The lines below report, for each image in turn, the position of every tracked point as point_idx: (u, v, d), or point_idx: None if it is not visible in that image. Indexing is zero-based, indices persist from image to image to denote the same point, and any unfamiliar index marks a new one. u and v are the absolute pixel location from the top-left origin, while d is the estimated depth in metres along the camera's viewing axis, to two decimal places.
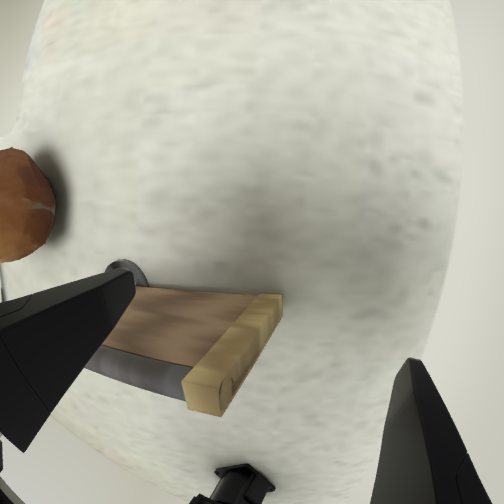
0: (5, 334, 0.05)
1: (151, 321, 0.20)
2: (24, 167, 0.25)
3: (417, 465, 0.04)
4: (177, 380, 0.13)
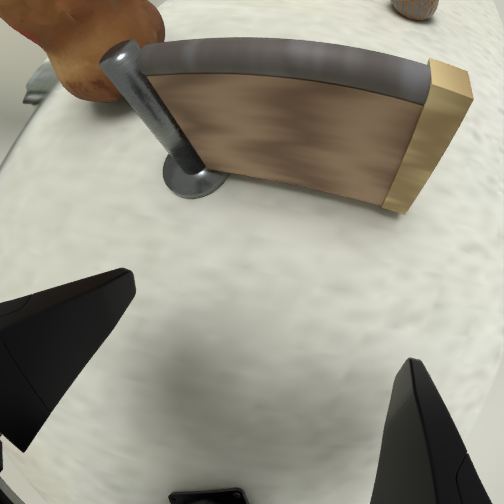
0: (5, 334, 0.05)
1: None
2: (163, 23, 0.24)
3: (417, 465, 0.04)
4: (418, 62, 0.09)
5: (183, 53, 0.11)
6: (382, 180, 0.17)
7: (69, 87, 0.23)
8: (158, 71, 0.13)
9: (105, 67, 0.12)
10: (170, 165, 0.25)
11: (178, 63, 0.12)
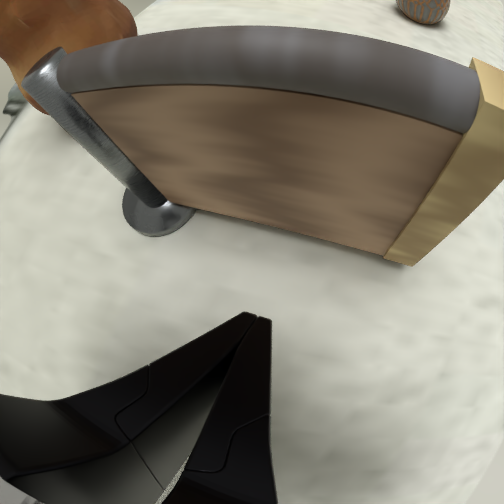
0: (134, 435, 0.04)
1: None
2: (135, 26, 0.21)
3: None
4: None
5: (101, 61, 0.07)
6: (387, 229, 0.12)
7: (30, 101, 0.19)
8: (80, 87, 0.09)
9: (24, 86, 0.08)
10: (131, 195, 0.21)
11: (97, 75, 0.08)
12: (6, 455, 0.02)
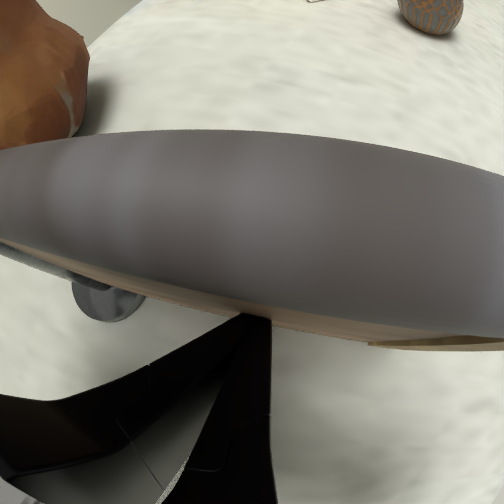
0: (134, 435, 0.04)
1: None
2: (84, 54, 0.18)
3: None
4: None
5: None
6: (370, 339, 0.10)
7: None
8: None
9: None
10: None
11: None
12: (6, 455, 0.02)
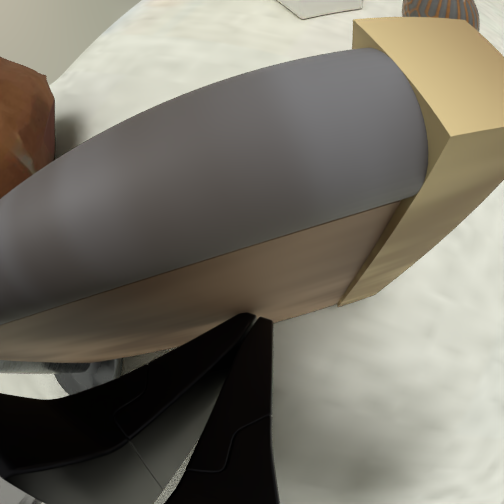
0: (133, 434, 0.04)
1: None
2: (44, 102, 0.16)
3: None
4: None
5: None
6: (328, 297, 0.10)
7: None
8: None
9: None
10: None
11: None
12: (5, 453, 0.02)
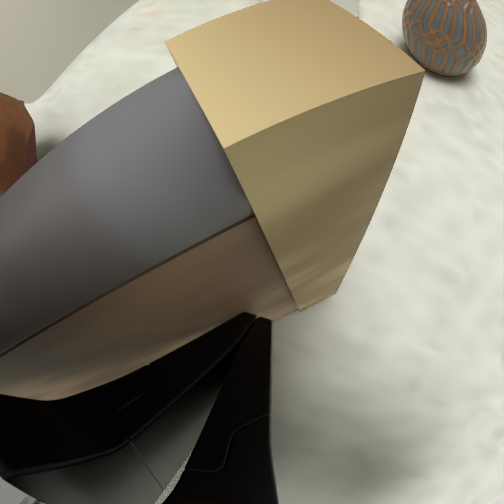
0: (134, 434, 0.04)
1: None
2: (20, 134, 0.15)
3: None
4: None
5: None
6: (277, 306, 0.10)
7: None
8: None
9: None
10: None
11: None
12: (5, 454, 0.02)
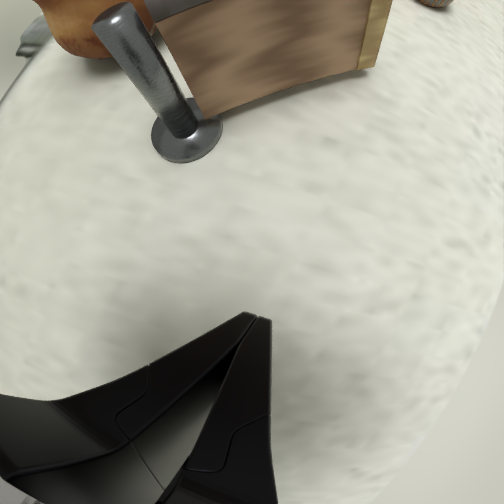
0: (134, 435, 0.04)
1: None
2: None
3: None
4: None
5: None
6: (355, 43, 0.18)
7: (62, 43, 0.19)
8: (172, 10, 0.11)
9: (98, 30, 0.10)
10: (159, 127, 0.23)
11: None
12: (6, 455, 0.02)
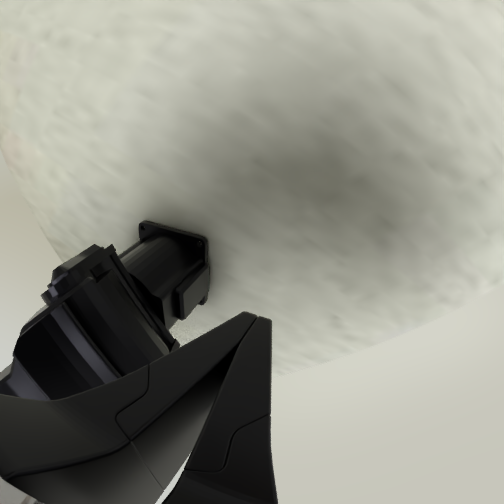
0: (135, 435, 0.04)
1: None
2: None
3: None
4: None
5: None
6: None
7: None
8: None
9: None
10: None
11: None
12: (6, 455, 0.02)
